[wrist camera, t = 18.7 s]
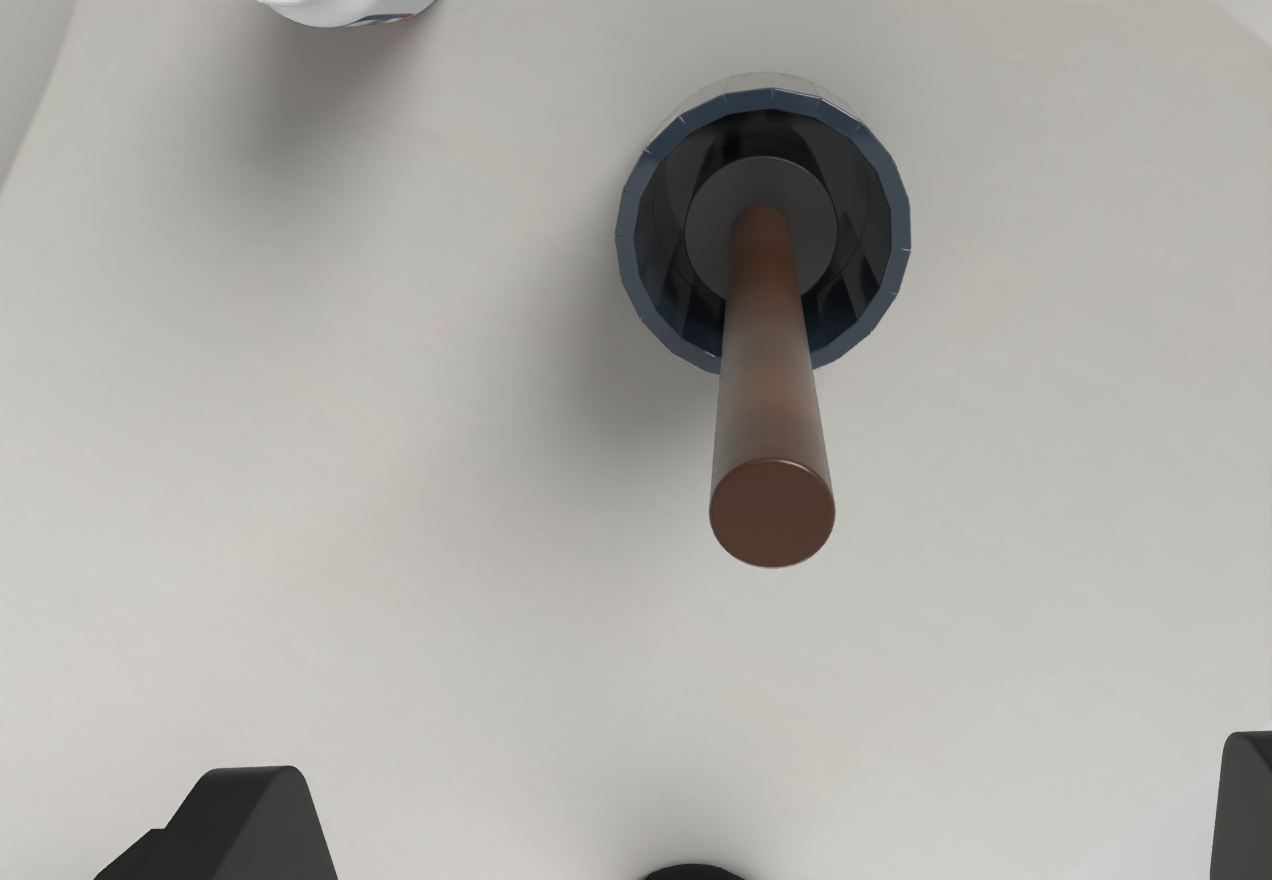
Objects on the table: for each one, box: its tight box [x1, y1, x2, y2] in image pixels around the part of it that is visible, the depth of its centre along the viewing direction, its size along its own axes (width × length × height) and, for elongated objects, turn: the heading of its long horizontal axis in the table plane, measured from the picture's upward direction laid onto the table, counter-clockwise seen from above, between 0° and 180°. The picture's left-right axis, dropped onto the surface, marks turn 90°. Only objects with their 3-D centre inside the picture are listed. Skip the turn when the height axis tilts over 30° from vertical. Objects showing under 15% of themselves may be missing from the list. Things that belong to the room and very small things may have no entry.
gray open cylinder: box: [615, 72, 911, 375], centre depth 34 cm, size 9×9×7 cm
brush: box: [684, 135, 838, 569], centre depth 26 cm, size 5×5×24 cm
